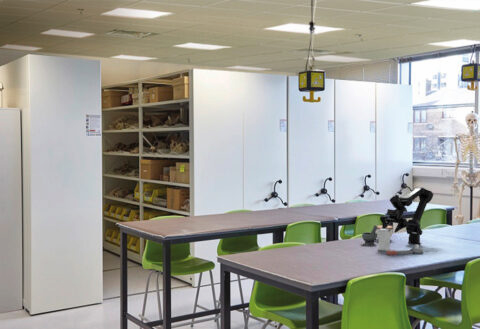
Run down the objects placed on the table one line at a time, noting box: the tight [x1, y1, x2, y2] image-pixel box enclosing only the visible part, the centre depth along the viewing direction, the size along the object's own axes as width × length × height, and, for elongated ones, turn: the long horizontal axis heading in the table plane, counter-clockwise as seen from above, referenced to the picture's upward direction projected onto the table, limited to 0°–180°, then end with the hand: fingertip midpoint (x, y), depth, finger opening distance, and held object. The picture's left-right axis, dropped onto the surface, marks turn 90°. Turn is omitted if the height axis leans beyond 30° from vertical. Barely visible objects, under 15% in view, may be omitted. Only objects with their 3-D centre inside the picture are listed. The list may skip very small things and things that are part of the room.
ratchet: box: [386, 244, 424, 256], centre depth 359 cm, size 23×7×5 cm, turn 104°
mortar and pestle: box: [361, 225, 378, 246], centre depth 395 cm, size 11×9×12 cm
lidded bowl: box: [375, 224, 394, 241], centre depth 411 cm, size 13×13×11 cm
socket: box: [378, 229, 391, 252], centre depth 372 cm, size 5×5×13 cm
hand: (388, 231), depth 375 cm, fingers open, 9 cm apart
